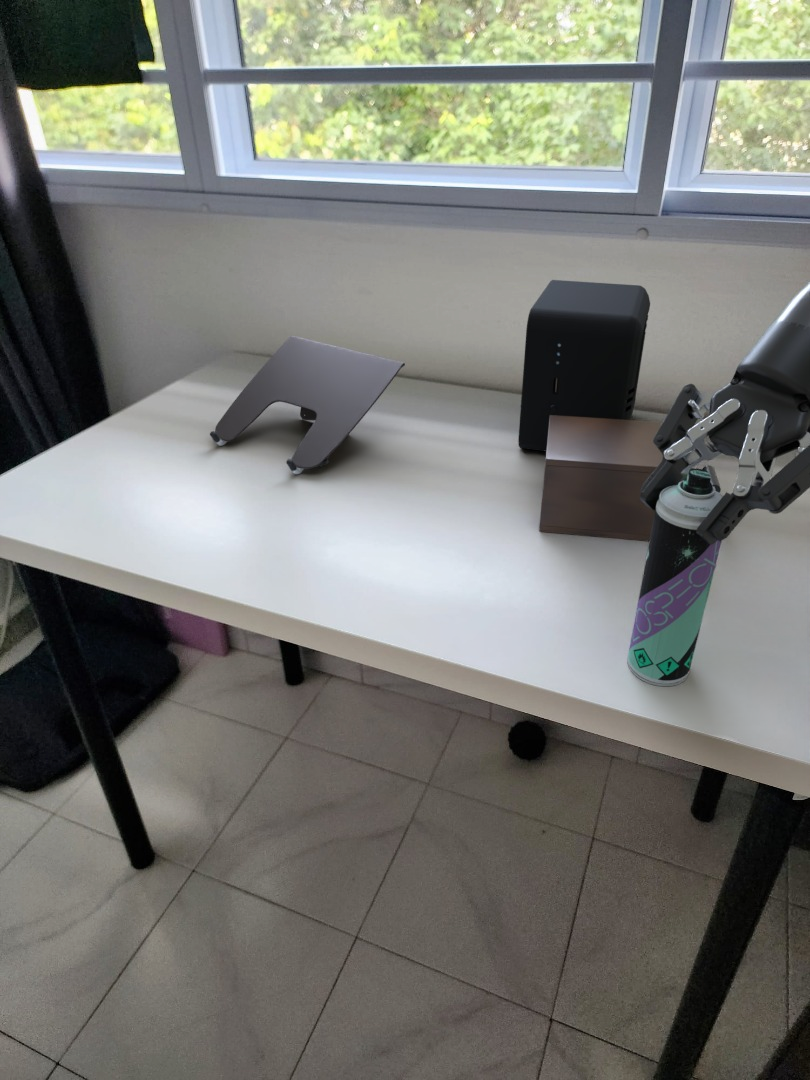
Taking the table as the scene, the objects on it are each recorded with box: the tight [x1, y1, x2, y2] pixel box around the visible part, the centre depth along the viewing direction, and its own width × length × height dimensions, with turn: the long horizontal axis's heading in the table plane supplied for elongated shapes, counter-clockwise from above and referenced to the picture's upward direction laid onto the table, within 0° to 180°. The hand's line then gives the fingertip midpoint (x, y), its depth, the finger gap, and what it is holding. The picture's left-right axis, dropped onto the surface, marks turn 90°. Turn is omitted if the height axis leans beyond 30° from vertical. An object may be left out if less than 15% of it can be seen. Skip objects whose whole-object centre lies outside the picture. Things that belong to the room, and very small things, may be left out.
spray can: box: [627, 467, 724, 687], centre depth 64 cm, size 6×6×20 cm
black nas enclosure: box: [517, 279, 651, 452], centre depth 107 cm, size 20×15×20 cm
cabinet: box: [538, 415, 679, 542], centre depth 90 cm, size 15×13×10 cm
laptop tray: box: [209, 335, 406, 475], centre depth 112 cm, size 23×23×9 cm
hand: (674, 520), depth 60 cm, fingers closed on spray can, 5 cm apart
